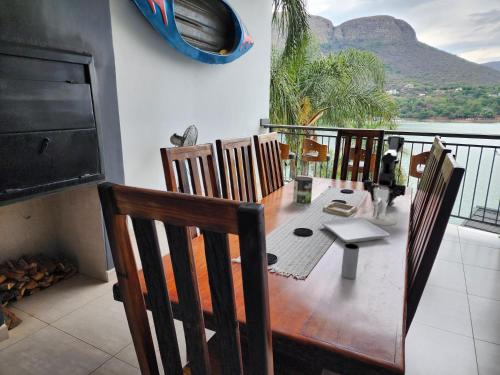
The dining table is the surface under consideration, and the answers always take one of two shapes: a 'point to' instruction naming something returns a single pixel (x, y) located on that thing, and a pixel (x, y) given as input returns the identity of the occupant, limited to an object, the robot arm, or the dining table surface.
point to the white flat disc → (388, 221)
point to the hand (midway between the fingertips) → (380, 202)
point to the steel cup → (380, 202)
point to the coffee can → (302, 190)
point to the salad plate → (354, 229)
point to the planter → (350, 260)
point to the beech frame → (344, 213)
